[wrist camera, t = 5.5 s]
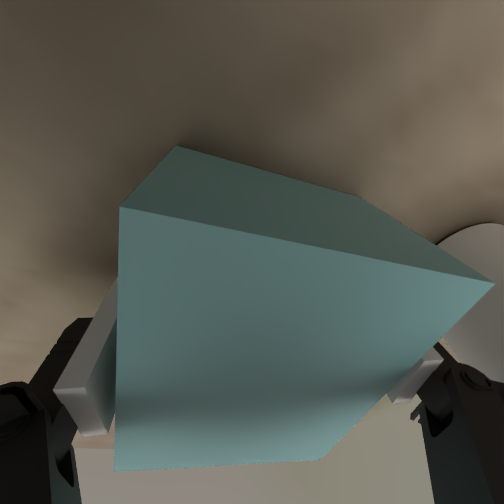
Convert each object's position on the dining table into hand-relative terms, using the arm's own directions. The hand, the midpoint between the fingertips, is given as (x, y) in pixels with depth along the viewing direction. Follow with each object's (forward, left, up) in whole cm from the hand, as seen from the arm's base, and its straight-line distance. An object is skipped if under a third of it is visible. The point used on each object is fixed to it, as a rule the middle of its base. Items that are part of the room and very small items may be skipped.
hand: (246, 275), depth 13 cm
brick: (0, 0, -1) cm, 1 cm away
